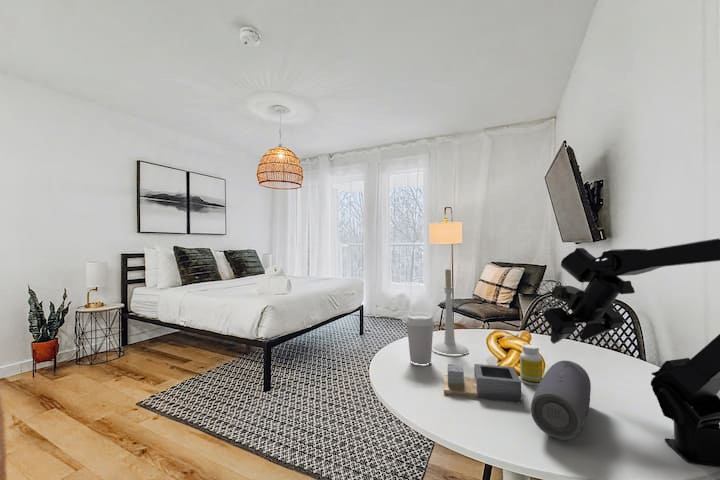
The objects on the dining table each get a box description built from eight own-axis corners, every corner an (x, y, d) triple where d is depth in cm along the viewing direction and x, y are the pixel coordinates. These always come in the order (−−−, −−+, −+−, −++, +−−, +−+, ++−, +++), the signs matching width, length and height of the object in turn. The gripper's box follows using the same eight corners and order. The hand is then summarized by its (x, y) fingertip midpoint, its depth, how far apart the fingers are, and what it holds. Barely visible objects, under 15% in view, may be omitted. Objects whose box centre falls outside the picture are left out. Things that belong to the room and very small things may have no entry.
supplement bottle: (545, 386, 84) (544, 349, 85) (523, 385, 86) (522, 348, 86) (538, 378, 90) (537, 343, 90) (518, 377, 91) (516, 342, 91)
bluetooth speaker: (548, 394, 80) (546, 354, 81) (593, 405, 74) (592, 362, 75) (527, 436, 63) (526, 384, 63) (585, 454, 57) (583, 398, 57)
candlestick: (470, 357, 108) (468, 269, 109) (431, 355, 111) (429, 269, 112) (466, 346, 120) (464, 267, 121) (432, 344, 123) (430, 267, 124)
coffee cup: (401, 365, 102) (400, 318, 102) (411, 356, 110) (410, 312, 111) (431, 370, 97) (430, 320, 98) (438, 360, 106) (437, 315, 106)
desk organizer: (521, 403, 76) (521, 381, 76) (443, 394, 81) (443, 373, 81) (514, 385, 85) (513, 366, 85) (445, 379, 90) (444, 360, 91)
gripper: (601, 272, 82) (573, 315, 91) (541, 275, 78) (517, 319, 86) (641, 302, 73) (605, 347, 82) (575, 307, 69) (545, 354, 77)
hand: (567, 340), depth 82 cm, fingers open, 9 cm apart
